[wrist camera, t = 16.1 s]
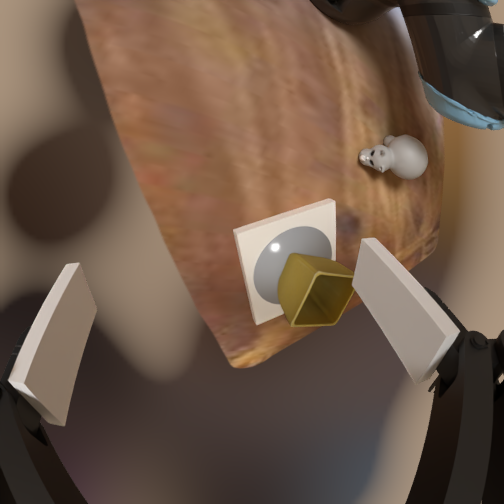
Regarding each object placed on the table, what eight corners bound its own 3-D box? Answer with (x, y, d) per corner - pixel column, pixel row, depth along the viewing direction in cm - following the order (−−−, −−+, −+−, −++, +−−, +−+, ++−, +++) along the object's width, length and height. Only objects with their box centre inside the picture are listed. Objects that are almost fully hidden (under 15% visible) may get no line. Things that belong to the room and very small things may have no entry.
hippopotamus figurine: (349, 129, 41) (369, 138, 34) (411, 131, 41) (437, 141, 33) (350, 170, 45) (368, 187, 38) (409, 169, 44) (434, 185, 37)
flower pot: (262, 290, 44) (289, 328, 37) (282, 239, 41) (317, 271, 34) (306, 292, 48) (335, 325, 41) (327, 247, 45) (362, 276, 38)
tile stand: (329, 198, 43) (336, 202, 41) (330, 285, 53) (335, 291, 51) (232, 229, 39) (237, 235, 38) (253, 319, 49) (257, 326, 47)
